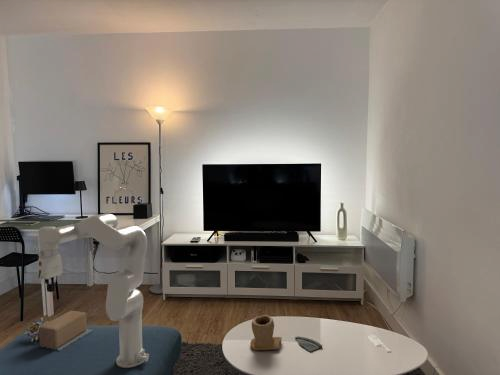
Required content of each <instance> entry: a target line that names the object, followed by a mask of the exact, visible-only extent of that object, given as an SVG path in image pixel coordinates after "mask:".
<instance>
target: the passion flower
mask: <svg viewBox="0 0 500 375" xmlns="http://www.w3.org/2000/svg"><path fill="white" fill-rule="evenodd" d="M48 322H49V321H48V320H46V321H44V317H43V316H42V317H40V318H39V319H35V320H34V321H33V322H30V324H29V326H28V327H27V329H26V331H24V334H25V335H27V336H28V339H29V340H31V341H30V342H31V343H34V341H38V340H39V327H40V326H42V325H44V324H46V323H48Z"/></svg>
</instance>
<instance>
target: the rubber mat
mask: <svg viewBox="0 0 500 375" xmlns="http://www.w3.org/2000/svg"><path fill="white" fill-rule="evenodd" d="M90 332H91V333H92V332H94V329H89V328H86V331H84V332H83V333H81V334H79V335H78V336H76V337H75V338H73V339H71V340H70V341H68V342H66V343H65V344H63V345H62V346H60V347H58V348H57V349H54V351H57V350H58V352H60V350H61V351H62V350H64V349H66V348H67V347H69V346H70V345H69V344H71V343H72V344H74V343H75V342H74V341H76V340H77V339H79V338H81V337H82V338H84V337H85V336H84V335H86V334H87V335H89V334H91V333H90ZM88 333H89V334H88ZM87 335H86V336H87ZM83 336H84V337H83ZM82 338H81V339H82ZM79 340H80V339H79ZM77 341H78V340H77ZM77 341H76V342H77ZM73 342H74V343H73ZM72 344H71V345H72ZM68 345H69V346H68ZM65 347H66V348H65ZM63 348H64V349H63Z"/></svg>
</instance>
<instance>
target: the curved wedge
mask: <svg viewBox="0 0 500 375" xmlns="http://www.w3.org/2000/svg"><path fill="white" fill-rule="evenodd" d="M294 339H295V341H296V342H297V344H298V346H299V347H301V348H302V349H304V350H305V351H307V352H308V353H312V352H313V353H314V352H316V351H318V350H320V349H322V348H323V345H322V344H321V343H320V342H318V341H317V340H314V339H311V338H308V337H305V336H295V337H294Z"/></svg>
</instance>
